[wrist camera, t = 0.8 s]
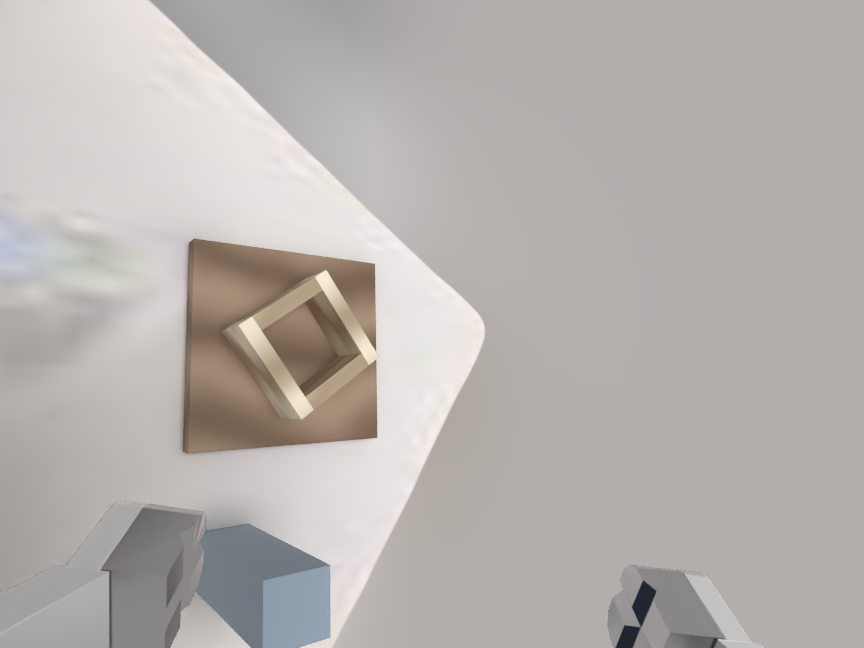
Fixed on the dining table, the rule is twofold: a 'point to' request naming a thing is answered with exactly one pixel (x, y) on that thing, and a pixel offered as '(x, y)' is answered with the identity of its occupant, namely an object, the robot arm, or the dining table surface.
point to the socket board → (277, 349)
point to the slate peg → (265, 588)
